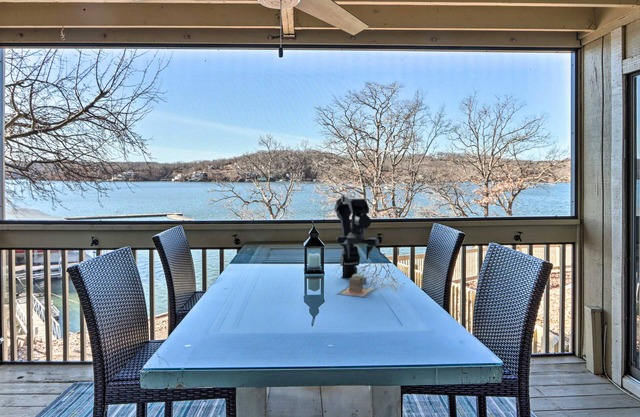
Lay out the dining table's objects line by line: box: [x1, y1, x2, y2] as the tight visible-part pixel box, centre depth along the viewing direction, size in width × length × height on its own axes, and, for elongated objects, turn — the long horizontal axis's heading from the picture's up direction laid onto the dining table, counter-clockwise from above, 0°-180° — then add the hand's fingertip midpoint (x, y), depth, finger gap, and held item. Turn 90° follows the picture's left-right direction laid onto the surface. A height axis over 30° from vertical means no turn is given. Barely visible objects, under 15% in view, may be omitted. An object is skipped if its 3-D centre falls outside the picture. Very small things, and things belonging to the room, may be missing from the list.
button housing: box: [363, 276, 367, 286], centre depth 195 cm, size 6×6×2 cm
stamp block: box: [348, 276, 364, 294], centre depth 181 cm, size 4×4×6 cm
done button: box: [352, 273, 365, 279], centre depth 195 cm, size 4×4×2 cm
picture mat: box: [336, 285, 377, 299], centre depth 182 cm, size 13×15×1 cm
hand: (357, 258), depth 194 cm, fingers open, 9 cm apart
